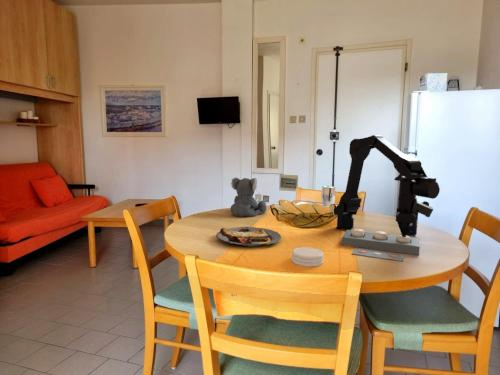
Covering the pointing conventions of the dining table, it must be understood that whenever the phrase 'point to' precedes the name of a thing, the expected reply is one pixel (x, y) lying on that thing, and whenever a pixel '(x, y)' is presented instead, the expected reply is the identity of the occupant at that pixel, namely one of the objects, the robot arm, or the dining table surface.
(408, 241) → the button right
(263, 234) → the food plate
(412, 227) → the beverage can
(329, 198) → the beer glass
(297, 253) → the grey stacked discs
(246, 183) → the koala plush
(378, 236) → the button middle
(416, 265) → the dining table surface
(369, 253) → the pattern card
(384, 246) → the button board
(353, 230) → the button left
